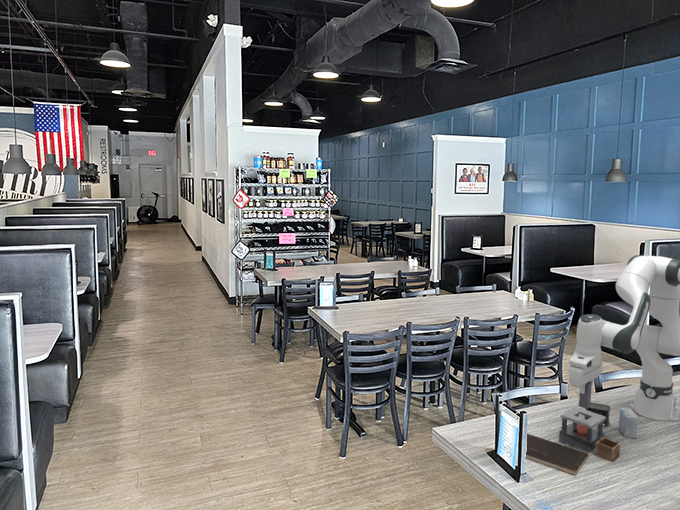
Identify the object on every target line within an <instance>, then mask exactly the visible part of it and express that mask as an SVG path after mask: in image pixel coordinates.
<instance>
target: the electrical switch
mask: <svg viewBox="0 0 680 510" xmlns="http://www.w3.org/2000/svg"><path fill="white" fill-rule="evenodd" d="M584 410H587V411H590V412H593V413H596V414H599V415H602V416H605V417H606V419H605V420H604V423H603V424H605V425H604V426H608V423H610V422H609V421H610V412H611V411H610V410H611V404H610V403H604V402H598V401H593V400H591V401H590V407H589V408H587V409H585V408H584ZM583 417H584V419H585V418H586V419H585V420H588V419H589V417H586V416H583Z"/></svg>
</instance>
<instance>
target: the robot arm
mask: <svg viewBox="0 0 680 510" xmlns="http://www.w3.org/2000/svg"><path fill="white" fill-rule="evenodd" d="M619 275H620V276H618V278H617V280H616V282H615V290H616V293H617V295H618V296H619V297H620V298H621V299H622V300H623V301H624V302H626V303H627V304H629V305H631V306H632V307H633V308H632V311H631V314H630V317H629V318H628V322H627V323H626V324H618V323H614V322H612V321H611V322H610V321H607V320H605V319H602V317H601V316H600V315H598V314H593V313H591V314H583V315H580V317H579V319H578V321H577V322H578V323H577V326H576V336H575V338H576V345H575V350H574V352H573V354H572V356H571V357H569V359H568V360H569V361H568V364H569V365H570V367H569V375H568V376H569V380H568V381H569V384H570V385H571V386H572V387H575V388H578V389H579V394H580V393H582V394H584V393H586V389H585V385H586V383H588V382H589V381H590V382H592V384H593V383H594V380H595V379H596V378H598V377H600V376H601V375H602V373H603V358H601V357H602V347H605V348H607V349H611V350H615V351H617V352H619V353H620V354H621V353H622V354H625V355H627V354H631V353H633V352H634V351H635V352H636V353H637V354H638V355H639V358H640V360H641V366H642V367H641V369H642V370H641V379H640V380H639V381H640V382H639V388H638V389H636V390H635V394H634V400H633V401H634V402H632V403H630V405H629V407H630V408H632V409H633V410H634V412H636V413H637V414H638V415H640V416H642V417H644V418H648V419H651V420H656V421H672V422H678V421H679V420H680V406H679V405H677V397H676V395H674V394H673V392H674V390H673V388H674V385H675V383H674V382H673V381H672V380H673V373H674V370H673V368H672V365H671V364H670V363H669V362H668V361H666V359H665V360H664V359H663V358H662V357H661V355H660V354H664V355H668V356H669V355H670V356H675V357H680V259H677V258H670V257H666V256H659V255H656V256H655V255H644V254H636V255H634V256H632V257H631V258H629V260H628V261H627V264H626V266H625V268H624V269H623V270H622V272H621V273H620V274H619ZM648 290H649V291H648ZM648 292H649V294H648ZM648 314H649V315H650V316H651V317H652V318H654V319H656V321H658V322H660V323H661V325H662V326H657V325H650V324H646V320H647V317H648ZM601 346H602V347H601ZM659 353H660V354H659Z"/></svg>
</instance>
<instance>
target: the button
mask: <svg viewBox="0 0 680 510" xmlns="http://www.w3.org/2000/svg"><path fill="white" fill-rule="evenodd" d="M577 433H578V434H581V435H584V436H587V427H586V426H583V425H580V424H577Z"/></svg>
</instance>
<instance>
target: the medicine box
mask: <svg viewBox="0 0 680 510" xmlns="http://www.w3.org/2000/svg"><path fill="white" fill-rule="evenodd" d="M638 428H639V417H638V416H637V415H636V414H635V411H633V410H632V409H625V408H621V409H619V421H618V430H620V431H621V433H622V435H623V436H624V437H625V438H628V439H629V438H631V439H637V438H638V430H639V429H638Z"/></svg>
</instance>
